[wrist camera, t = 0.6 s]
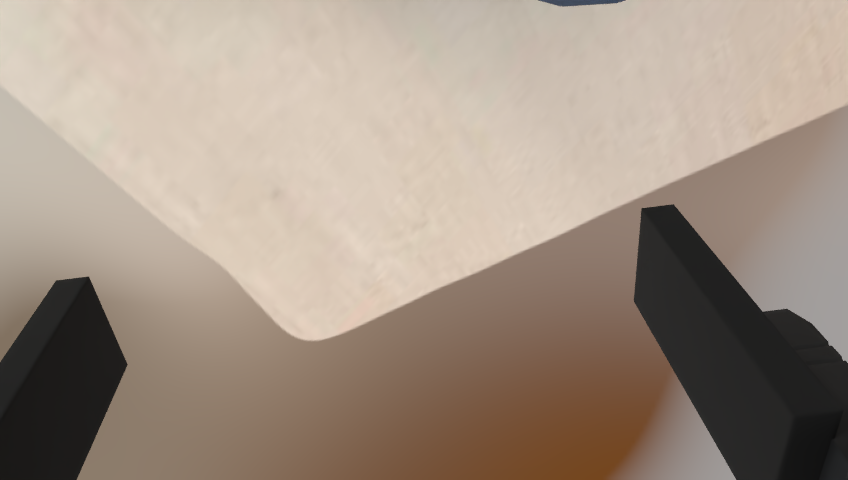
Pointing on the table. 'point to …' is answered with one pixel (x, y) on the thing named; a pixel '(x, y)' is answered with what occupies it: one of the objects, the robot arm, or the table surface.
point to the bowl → (580, 2)
